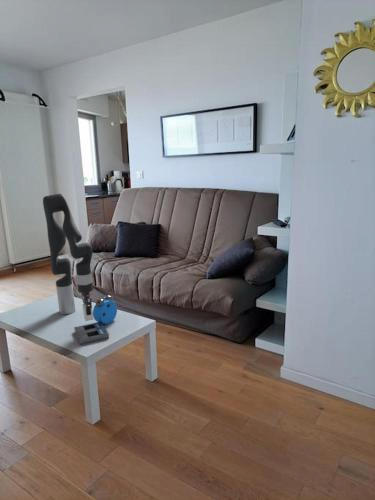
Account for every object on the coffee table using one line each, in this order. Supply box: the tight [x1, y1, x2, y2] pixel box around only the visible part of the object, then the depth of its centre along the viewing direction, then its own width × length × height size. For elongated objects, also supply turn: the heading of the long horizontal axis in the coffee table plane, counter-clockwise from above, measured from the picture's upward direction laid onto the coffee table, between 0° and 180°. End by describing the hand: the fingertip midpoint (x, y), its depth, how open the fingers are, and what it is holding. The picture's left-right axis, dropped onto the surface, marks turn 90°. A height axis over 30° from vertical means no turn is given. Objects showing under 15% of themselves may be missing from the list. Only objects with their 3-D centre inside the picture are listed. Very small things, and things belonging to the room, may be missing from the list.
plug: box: [82, 303, 94, 322], centre depth 180 cm, size 4×4×9 cm
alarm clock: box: [92, 294, 118, 325], centre depth 192 cm, size 13×6×15 cm, turn 147°
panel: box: [74, 321, 110, 346], centre depth 178 cm, size 17×14×3 cm
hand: (88, 313), depth 180 cm, fingers closed on plug, 4 cm apart
